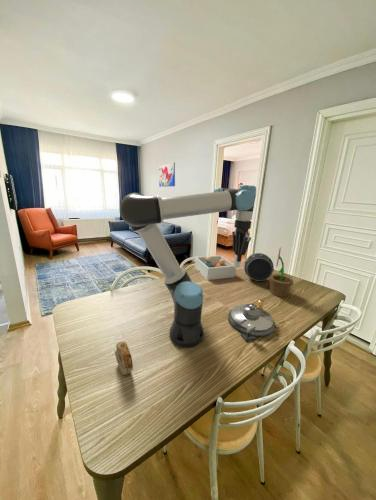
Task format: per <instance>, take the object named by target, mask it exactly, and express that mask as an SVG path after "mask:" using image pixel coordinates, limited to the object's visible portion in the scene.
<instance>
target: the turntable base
mask: <svg viewBox="0 0 376 500" xmlns="http://www.w3.org/2000/svg"><path fill="white" fill-rule="evenodd" d="M227 318H228V323H229V325H230V326H231V327H232V328H233V329H234V330H235V331H237V332H238V333H240V334H242V333H246V334H247V330H246V329H244V328H242V327H240V326H238V325H237V324H236V323H235V322H234V321H233V320H232V318H231V310H229V312H228V317H227ZM275 325H276V324H275V321H274V320H273V325H272V327H271V328H270V329H269V330H267V331H263V332H255V331H253V332H252V333H250V335H254V336H255V337H256V339H257V338H261V339H262V338H266V337H269V336H271V335H272V334H273V333H274V332H275Z"/></svg>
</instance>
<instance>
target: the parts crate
mask: <svg viewBox="0 0 376 500" xmlns="http://www.w3.org/2000/svg"><path fill="white" fill-rule="evenodd" d="M206 257H210V258H211V263H212V266H214V267H210V268H209V267H207V266H206V265H205V264H204V262H205V258H206ZM220 259H224V260H225V264H226V265H227V266H223V267H215V266H216V265H217V263H219V260H220ZM194 269H195V270H196V271H198V270H199V271H200V272H199V271H198V272H199V274H200V275H202V276H203V278H205V279H206V280H207V281H209V280H220V279H221V280H222V279H230V278H236V271H237V267H236V268H235V267H234V262H232V261H230V260H228V259H227V258H226V257H224V256H222V255H210V256H209V255H207V256H196V257H195V260H194Z"/></svg>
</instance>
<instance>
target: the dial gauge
mask: <svg viewBox="0 0 376 500" xmlns="http://www.w3.org/2000/svg"><path fill="white" fill-rule="evenodd" d="M246 330H247V334H246V333H240V336H241V338H242V339H243V340H244V341H245V342H251V341H254V340H256V339H257V337H255V336H254V335H250V333H252V332H253V331H254V330H255V325H254V324H252V323H250V324H248V325H247V327H246Z"/></svg>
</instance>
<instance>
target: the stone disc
mask: <svg viewBox="0 0 376 500" xmlns="http://www.w3.org/2000/svg"><path fill="white" fill-rule="evenodd" d="M115 346H116V347H115V348H116V350H115V351H114V355H115V359H116V363H117V365H118V367H119V370H120V372H121V374H122V375H123V376H125V375H128V374H130V373H132V371H133V369H134V368H133V359H132V358H133V357H132V355H131V352H130V348H129V346H128V343H127V341H119V342H117V343H116V345H115Z"/></svg>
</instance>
